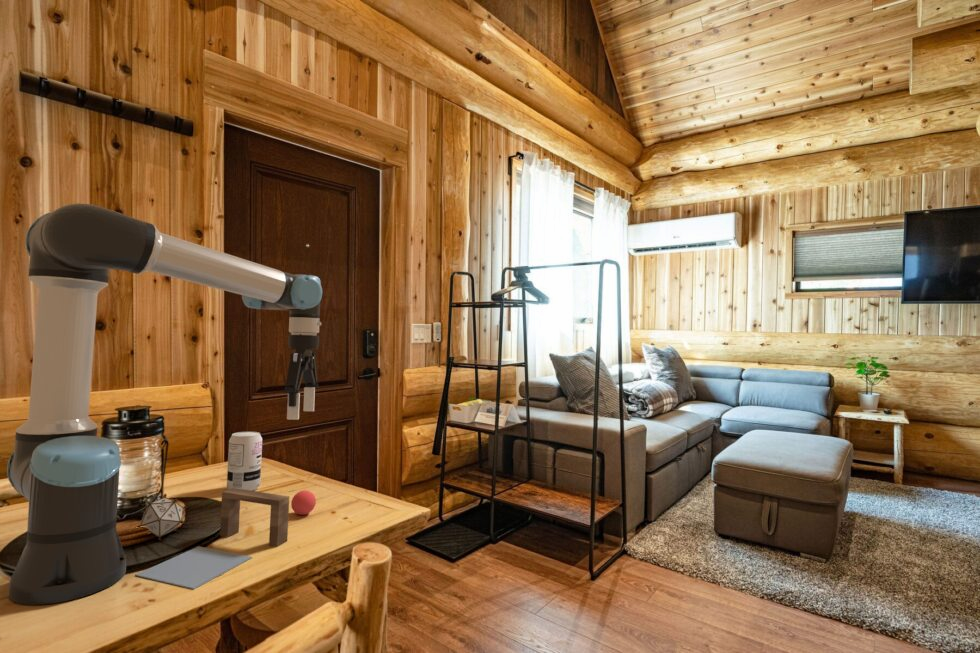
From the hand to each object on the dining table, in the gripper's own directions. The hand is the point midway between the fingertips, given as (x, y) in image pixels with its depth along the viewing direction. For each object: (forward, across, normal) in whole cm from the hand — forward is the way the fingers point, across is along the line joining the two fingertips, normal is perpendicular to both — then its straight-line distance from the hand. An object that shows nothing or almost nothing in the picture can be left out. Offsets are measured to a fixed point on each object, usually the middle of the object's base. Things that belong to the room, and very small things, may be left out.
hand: (301, 415), depth 133 cm
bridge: (+21, -27, +1) cm, 34 cm away
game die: (+22, -26, +20) cm, 39 cm away
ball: (+19, -12, -5) cm, 23 cm away
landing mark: (+21, -40, +6) cm, 46 cm away
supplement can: (+22, +7, +17) cm, 28 cm away
